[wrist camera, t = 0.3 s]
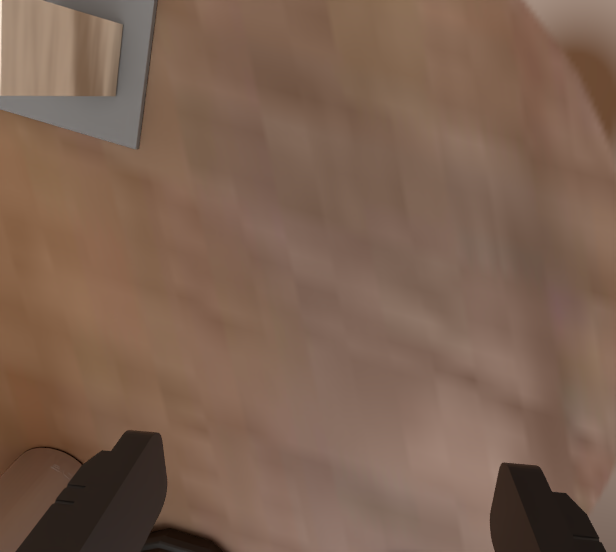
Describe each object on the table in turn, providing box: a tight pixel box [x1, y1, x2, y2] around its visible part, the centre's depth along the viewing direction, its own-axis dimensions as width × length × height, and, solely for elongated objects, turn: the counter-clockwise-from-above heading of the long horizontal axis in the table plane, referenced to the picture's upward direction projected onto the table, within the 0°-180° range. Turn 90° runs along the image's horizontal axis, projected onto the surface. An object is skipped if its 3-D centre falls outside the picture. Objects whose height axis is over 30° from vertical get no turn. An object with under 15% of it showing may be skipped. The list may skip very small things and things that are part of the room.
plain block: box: [0, 0, 123, 96], centre depth 29 cm, size 5×5×12 cm
